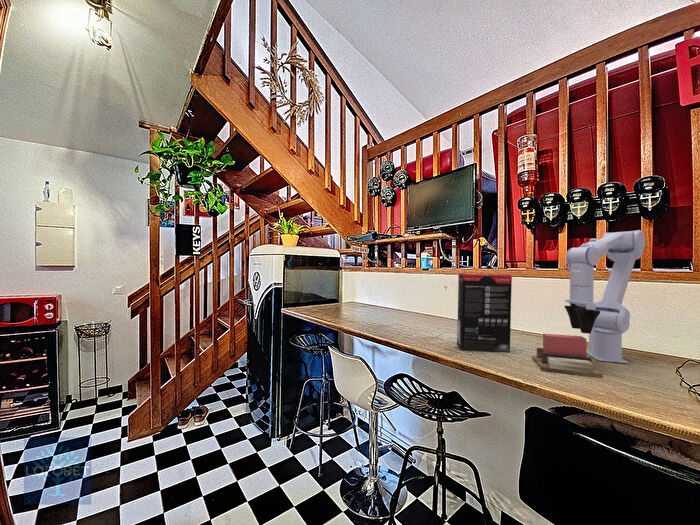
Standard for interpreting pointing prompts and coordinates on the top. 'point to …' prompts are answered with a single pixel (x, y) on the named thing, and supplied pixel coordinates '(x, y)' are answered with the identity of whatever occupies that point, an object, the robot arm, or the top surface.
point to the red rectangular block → (565, 345)
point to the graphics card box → (484, 312)
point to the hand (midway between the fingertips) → (580, 330)
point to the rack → (566, 364)
